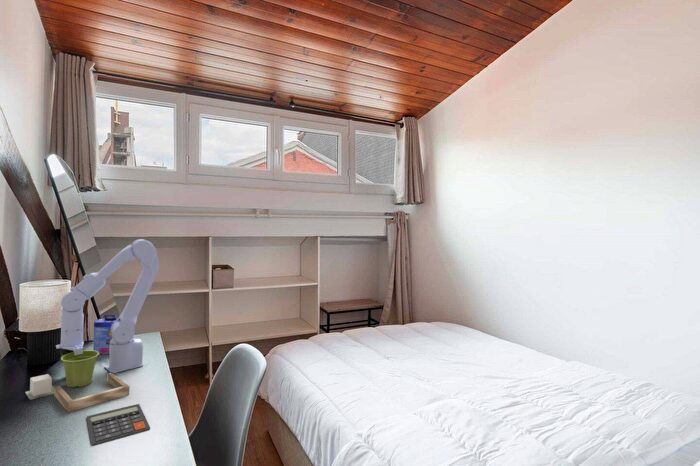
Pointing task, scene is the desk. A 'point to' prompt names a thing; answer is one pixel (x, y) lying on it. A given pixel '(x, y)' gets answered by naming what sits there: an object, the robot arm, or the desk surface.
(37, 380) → the cream block
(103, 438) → the calculator
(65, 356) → the plant pot
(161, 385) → the desk surface
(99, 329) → the ink cartridge box
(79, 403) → the brown bent bar
